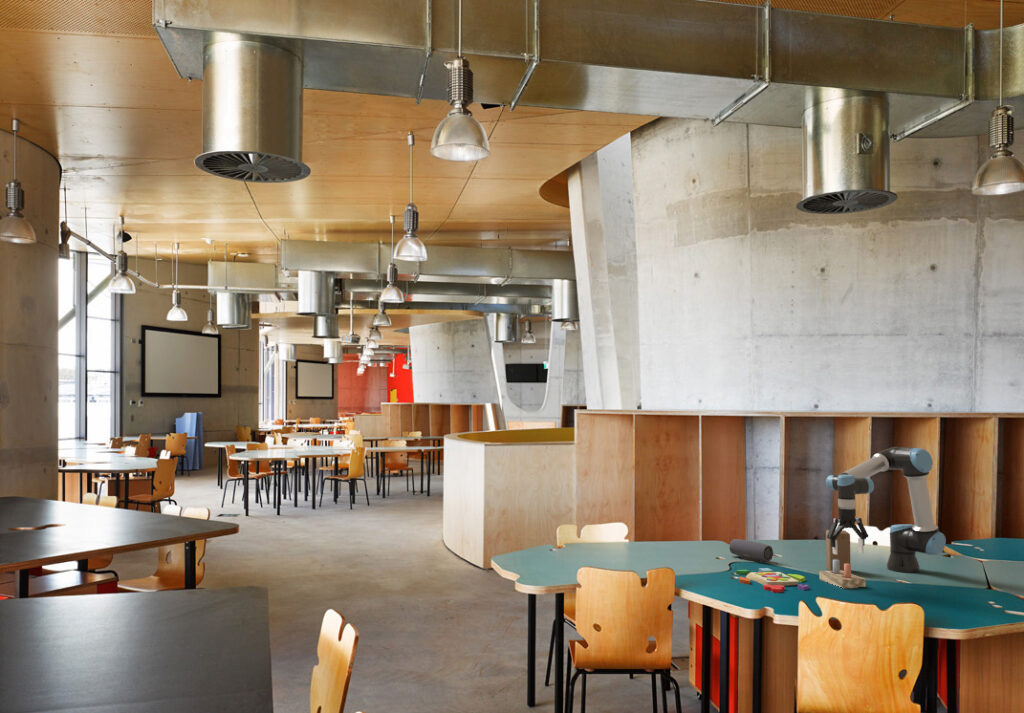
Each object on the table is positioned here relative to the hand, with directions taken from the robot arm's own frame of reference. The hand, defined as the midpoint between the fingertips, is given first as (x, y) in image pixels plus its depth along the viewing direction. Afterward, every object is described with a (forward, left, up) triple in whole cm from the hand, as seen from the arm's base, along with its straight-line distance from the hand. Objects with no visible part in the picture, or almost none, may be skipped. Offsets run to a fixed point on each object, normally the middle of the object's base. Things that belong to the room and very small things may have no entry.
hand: (848, 553), depth 356 cm
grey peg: (0, -9, -15) cm, 17 cm away
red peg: (+1, 0, -15) cm, 15 cm away
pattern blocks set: (+31, -13, -16) cm, 38 cm away
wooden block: (-15, -29, -15) cm, 36 cm away
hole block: (0, -4, -15) cm, 16 cm away
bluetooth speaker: (+16, -61, -15) cm, 65 cm away
